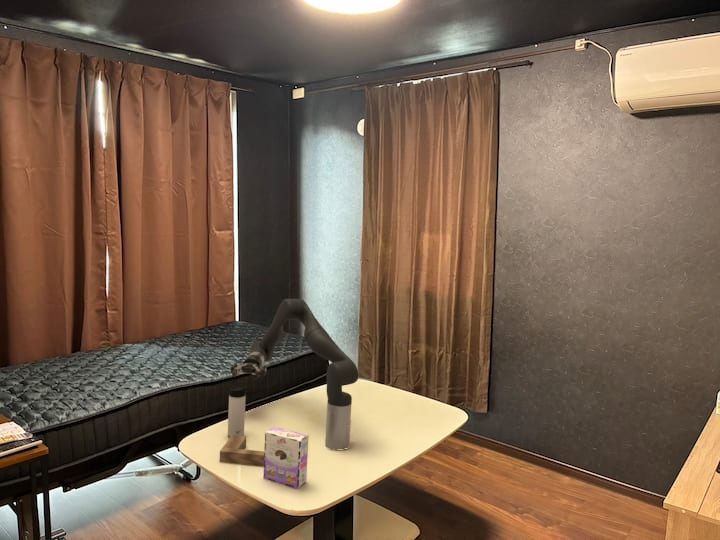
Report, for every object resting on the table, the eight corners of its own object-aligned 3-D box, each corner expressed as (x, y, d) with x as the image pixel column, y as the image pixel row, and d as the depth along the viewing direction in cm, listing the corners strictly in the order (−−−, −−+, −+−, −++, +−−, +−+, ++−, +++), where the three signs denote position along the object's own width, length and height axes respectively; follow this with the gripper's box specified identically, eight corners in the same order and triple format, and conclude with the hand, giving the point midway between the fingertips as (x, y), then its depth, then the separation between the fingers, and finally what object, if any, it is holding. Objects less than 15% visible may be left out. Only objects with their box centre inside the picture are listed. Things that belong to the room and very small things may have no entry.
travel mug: (240, 440, 209) (242, 390, 207) (224, 438, 210) (226, 388, 208) (247, 434, 215) (249, 385, 213) (231, 431, 216) (233, 383, 214)
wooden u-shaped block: (289, 450, 203) (289, 440, 203) (281, 468, 189) (281, 457, 189) (231, 444, 205) (232, 434, 204) (219, 462, 191) (219, 451, 190)
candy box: (307, 482, 181) (309, 434, 179) (297, 489, 176) (300, 441, 174) (272, 471, 187) (274, 425, 185) (262, 478, 181) (264, 431, 179)
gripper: (238, 352, 236) (227, 365, 220) (270, 355, 235) (262, 368, 219) (237, 369, 237) (226, 383, 221) (269, 372, 236) (261, 386, 220)
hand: (244, 376), depth 220 cm, fingers open, 8 cm apart
